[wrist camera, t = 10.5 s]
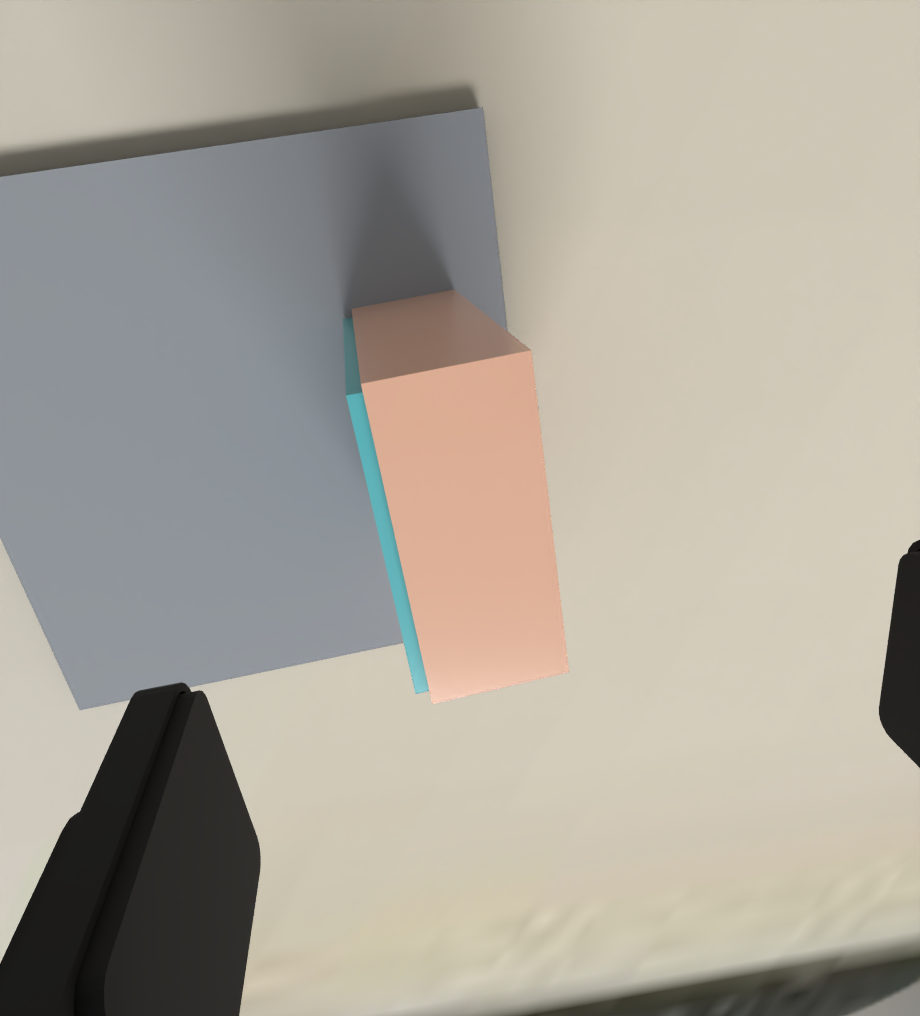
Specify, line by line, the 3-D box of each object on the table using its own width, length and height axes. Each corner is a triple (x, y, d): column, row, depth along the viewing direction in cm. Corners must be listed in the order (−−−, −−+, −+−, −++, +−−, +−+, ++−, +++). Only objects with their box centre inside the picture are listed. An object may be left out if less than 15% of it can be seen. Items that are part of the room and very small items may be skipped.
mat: (479, 109, 19) (482, 107, 19) (534, 607, 26) (538, 614, 25) (-143, 199, 18) (-156, 199, 17) (84, 700, 25) (79, 710, 24)
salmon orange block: (454, 289, 21) (531, 350, 12) (488, 506, 23) (568, 671, 15) (341, 310, 20) (343, 387, 12) (389, 527, 23) (418, 707, 15)
